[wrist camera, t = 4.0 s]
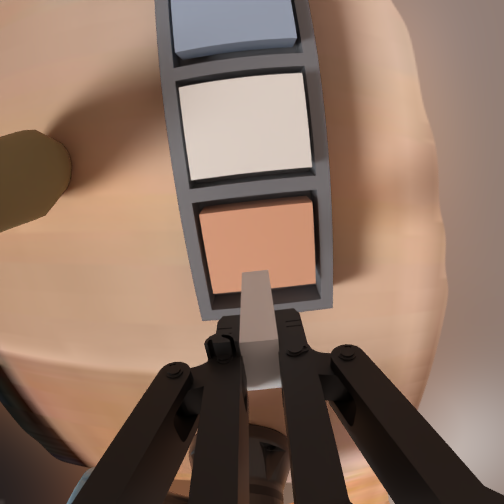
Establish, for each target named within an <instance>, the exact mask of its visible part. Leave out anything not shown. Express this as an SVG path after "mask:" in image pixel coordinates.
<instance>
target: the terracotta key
mask: <svg viewBox="0 0 504 504" xmlns="http://www.w3.org/2000/svg"><path fill="white" fill-rule="evenodd" d="M199 217H200V223H201V229H202V235H203V240H204V246H205V252H206V257H207V263H208V268H209V274H210V279H211V284H212V289H213V294H217V293H228V292H239V291H241V285H242V272H252V271H261V270H268V272H269V278H270V285H271V288H279V287H288V286H297V285H306V284H315V283H316V273H315V244H314V223H313V205H312V201H311V200H310V199H309V198H308V197H307V196H296V197H285V198H275V199H265V200H256V201H247V202H238V203H229V204H221V205H213V206H205V207H204V208H203V209H202V211H201V212H200V214H199Z"/></svg>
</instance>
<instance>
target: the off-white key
mask: <svg viewBox="0 0 504 504" xmlns="http://www.w3.org/2000/svg"><path fill="white" fill-rule="evenodd" d="M179 94H180V103H181V111H182V119H183V127H184V134H185V142H186V149H187V156H188V163H189V169H190V176H191V180H197V179H204V178H212V177H219V176H227V175H235V174H243V173H252V172H262V171H272V170H282V169H294V168H306V167H312V161H311V149H310V138H309V128H308V118H307V109H306V100H305V92H304V84H303V76H302V73H291V74H275V75H262V76H252V77H242V78H234V79H226V80H219V81H213V82H206V83H200V84H195V85H189V86H184V87H179Z"/></svg>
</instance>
